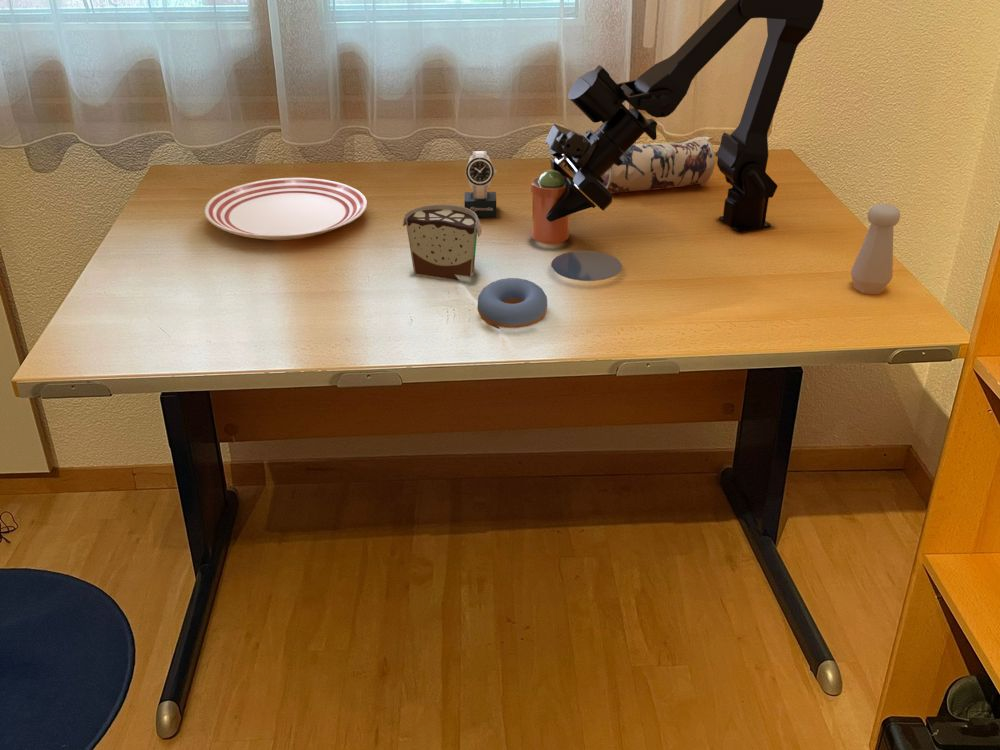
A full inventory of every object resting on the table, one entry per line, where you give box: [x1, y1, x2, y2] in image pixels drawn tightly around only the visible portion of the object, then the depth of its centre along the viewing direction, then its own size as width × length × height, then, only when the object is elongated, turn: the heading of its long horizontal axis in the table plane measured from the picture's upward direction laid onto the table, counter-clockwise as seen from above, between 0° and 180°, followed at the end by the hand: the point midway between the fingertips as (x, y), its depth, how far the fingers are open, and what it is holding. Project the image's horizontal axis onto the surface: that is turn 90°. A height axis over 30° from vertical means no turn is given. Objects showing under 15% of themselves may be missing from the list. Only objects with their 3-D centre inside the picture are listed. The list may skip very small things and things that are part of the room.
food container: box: [402, 203, 482, 283], centre depth 151 cm, size 12×6×10 cm, turn 71°
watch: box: [464, 150, 498, 219], centre depth 170 cm, size 6×8×11 cm
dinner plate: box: [204, 177, 368, 241], centre depth 170 cm, size 27×27×3 cm
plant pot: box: [530, 169, 572, 244], centre depth 159 cm, size 7×7×12 cm
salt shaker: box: [850, 203, 901, 295], centre depth 144 cm, size 6×6×13 cm
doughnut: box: [476, 277, 548, 330], centre depth 139 cm, size 10×10×5 cm
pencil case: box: [602, 136, 716, 194], centre depth 181 cm, size 22×8×10 cm, turn 101°
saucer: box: [550, 250, 623, 282], centre depth 153 cm, size 11×11×1 cm
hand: (542, 212), depth 159 cm, fingers closed on plant pot, 6 cm apart
